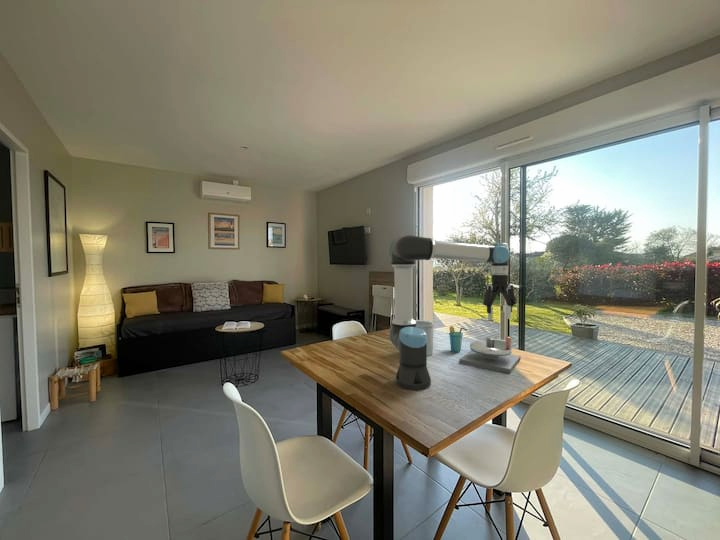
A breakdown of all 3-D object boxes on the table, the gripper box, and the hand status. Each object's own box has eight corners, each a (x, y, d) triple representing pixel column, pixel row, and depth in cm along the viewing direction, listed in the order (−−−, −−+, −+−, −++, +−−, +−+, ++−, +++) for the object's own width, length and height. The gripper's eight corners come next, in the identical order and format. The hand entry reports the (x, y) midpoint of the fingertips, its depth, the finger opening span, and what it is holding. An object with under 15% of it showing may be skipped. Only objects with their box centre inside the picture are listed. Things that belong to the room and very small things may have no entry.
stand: (459, 362, 157) (459, 352, 156) (474, 351, 175) (474, 341, 175) (510, 373, 142) (510, 361, 142) (520, 359, 161) (520, 349, 160)
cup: (471, 353, 172) (471, 327, 171) (461, 355, 168) (461, 329, 167) (452, 347, 184) (452, 323, 183) (443, 349, 180) (443, 324, 179)
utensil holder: (418, 347, 185) (417, 318, 184) (439, 352, 174) (439, 322, 173) (402, 352, 175) (402, 322, 174) (423, 358, 164) (423, 326, 163)
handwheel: (464, 351, 157) (464, 335, 156) (476, 342, 172) (476, 328, 172) (506, 358, 144) (506, 342, 144) (515, 348, 160) (515, 333, 160)
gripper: (484, 275, 144) (484, 321, 145) (524, 274, 149) (524, 319, 149) (475, 274, 151) (475, 318, 152) (513, 273, 156) (513, 316, 157)
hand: (499, 319), depth 151 cm, fingers open, 9 cm apart
